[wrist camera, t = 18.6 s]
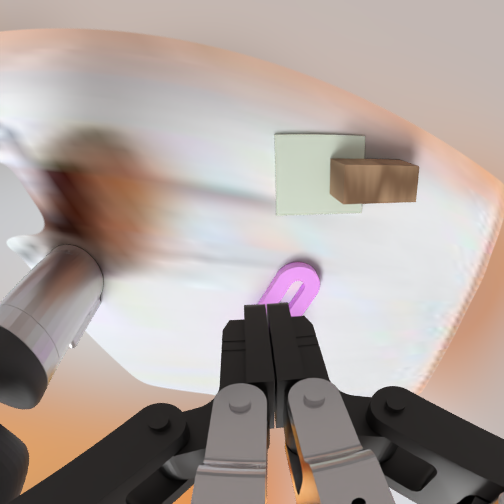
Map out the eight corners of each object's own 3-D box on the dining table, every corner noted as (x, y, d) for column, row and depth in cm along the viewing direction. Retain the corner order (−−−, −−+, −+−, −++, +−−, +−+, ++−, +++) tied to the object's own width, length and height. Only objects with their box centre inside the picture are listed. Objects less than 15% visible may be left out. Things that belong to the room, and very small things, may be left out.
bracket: (274, 344, 44) (279, 379, 38) (239, 331, 43) (239, 367, 36) (325, 272, 39) (340, 303, 33) (288, 254, 38) (297, 284, 32)
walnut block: (329, 194, 34) (397, 192, 35) (343, 204, 30) (415, 201, 31) (330, 158, 32) (400, 159, 33) (344, 164, 29) (419, 166, 29)
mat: (360, 212, 36) (361, 213, 35) (276, 214, 36) (276, 215, 35) (363, 135, 32) (365, 136, 32) (274, 134, 32) (274, 134, 31)
